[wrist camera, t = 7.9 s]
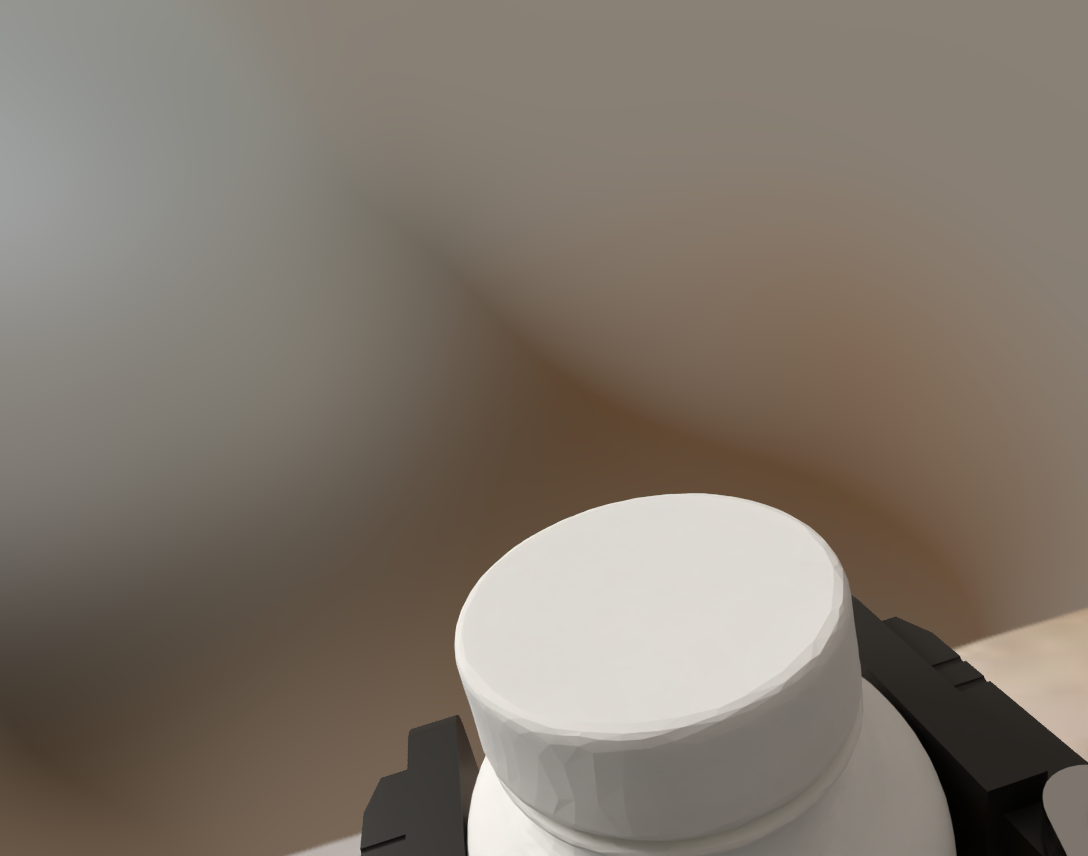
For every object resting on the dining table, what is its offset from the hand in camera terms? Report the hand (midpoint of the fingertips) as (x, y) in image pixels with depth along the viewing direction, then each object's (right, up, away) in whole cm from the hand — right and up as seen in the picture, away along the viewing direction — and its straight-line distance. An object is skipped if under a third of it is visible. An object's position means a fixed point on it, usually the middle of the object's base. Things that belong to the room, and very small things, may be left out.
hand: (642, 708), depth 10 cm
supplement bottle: (+2, -6, 0) cm, 7 cm away
